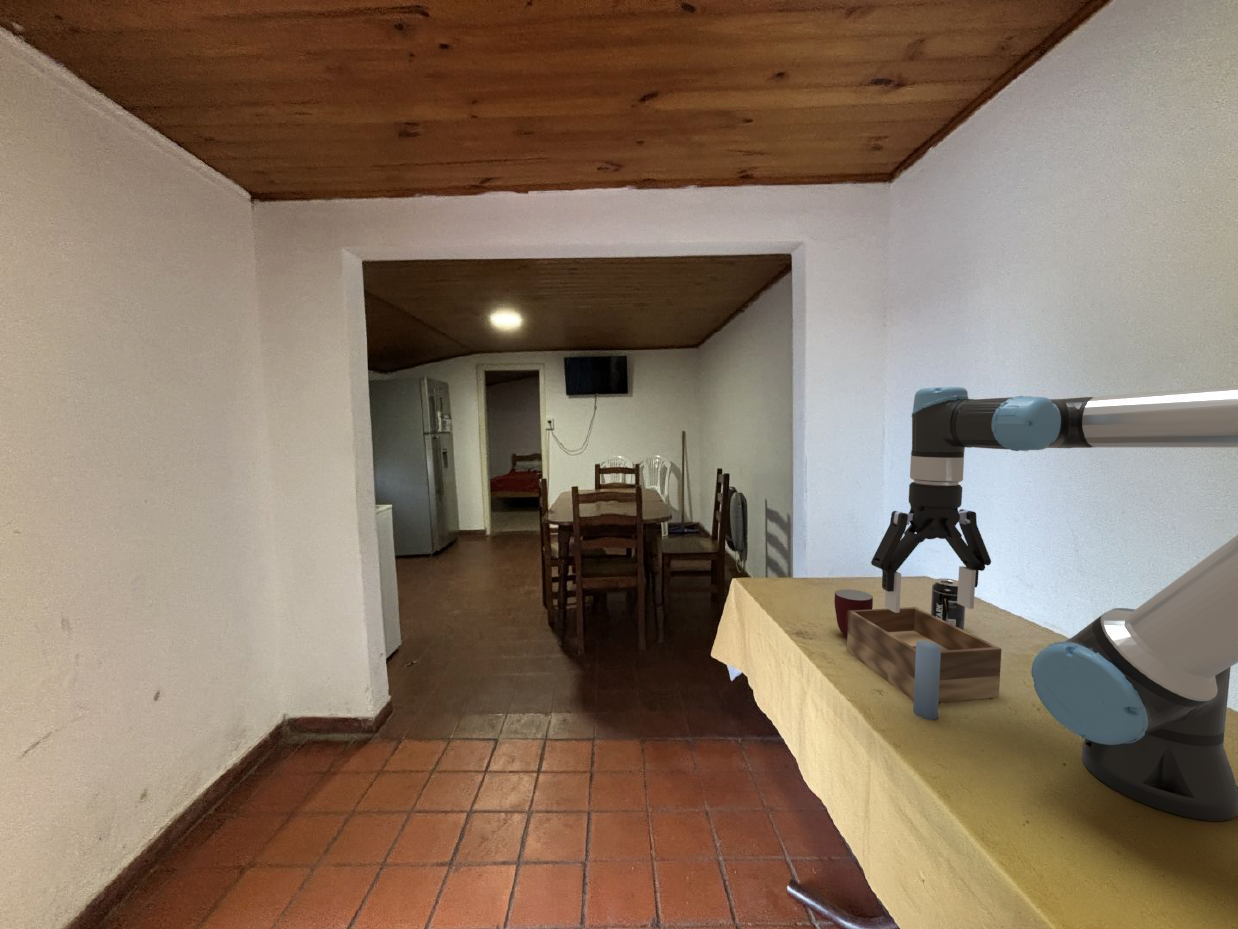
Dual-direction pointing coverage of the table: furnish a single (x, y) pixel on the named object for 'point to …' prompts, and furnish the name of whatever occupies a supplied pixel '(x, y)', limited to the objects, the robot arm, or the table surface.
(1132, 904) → the table surface
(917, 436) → the robot arm
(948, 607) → the beverage can
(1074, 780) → the table surface
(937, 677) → the peg
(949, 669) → the tray box
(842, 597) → the mug
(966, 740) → the table surface
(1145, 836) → the table surface
